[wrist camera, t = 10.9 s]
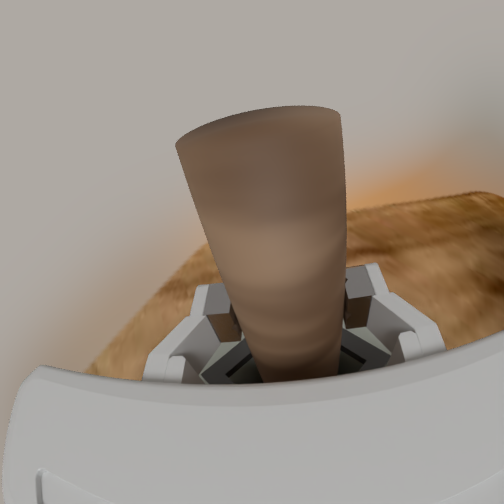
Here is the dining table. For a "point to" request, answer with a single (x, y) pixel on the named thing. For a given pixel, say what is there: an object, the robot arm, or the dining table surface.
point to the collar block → (246, 372)
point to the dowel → (276, 230)
